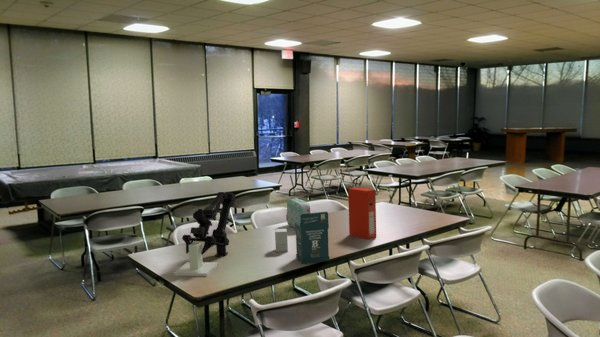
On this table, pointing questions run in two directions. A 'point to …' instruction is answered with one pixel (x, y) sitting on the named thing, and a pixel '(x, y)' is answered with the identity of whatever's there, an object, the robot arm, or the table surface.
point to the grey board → (203, 271)
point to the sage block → (195, 256)
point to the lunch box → (296, 210)
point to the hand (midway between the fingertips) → (194, 253)
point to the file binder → (362, 212)
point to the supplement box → (281, 240)
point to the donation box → (312, 238)
